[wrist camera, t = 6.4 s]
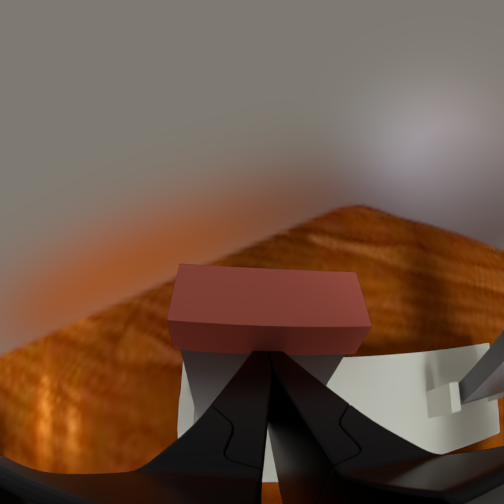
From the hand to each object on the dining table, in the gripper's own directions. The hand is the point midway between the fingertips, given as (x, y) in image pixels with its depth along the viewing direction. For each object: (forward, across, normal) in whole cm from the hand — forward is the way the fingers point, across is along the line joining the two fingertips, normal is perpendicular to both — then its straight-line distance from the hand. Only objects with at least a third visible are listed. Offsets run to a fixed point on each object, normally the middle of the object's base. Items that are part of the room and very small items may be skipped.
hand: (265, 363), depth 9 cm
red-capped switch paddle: (+5, 0, +7) cm, 8 cm away
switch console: (+8, -8, +10) cm, 15 cm away
